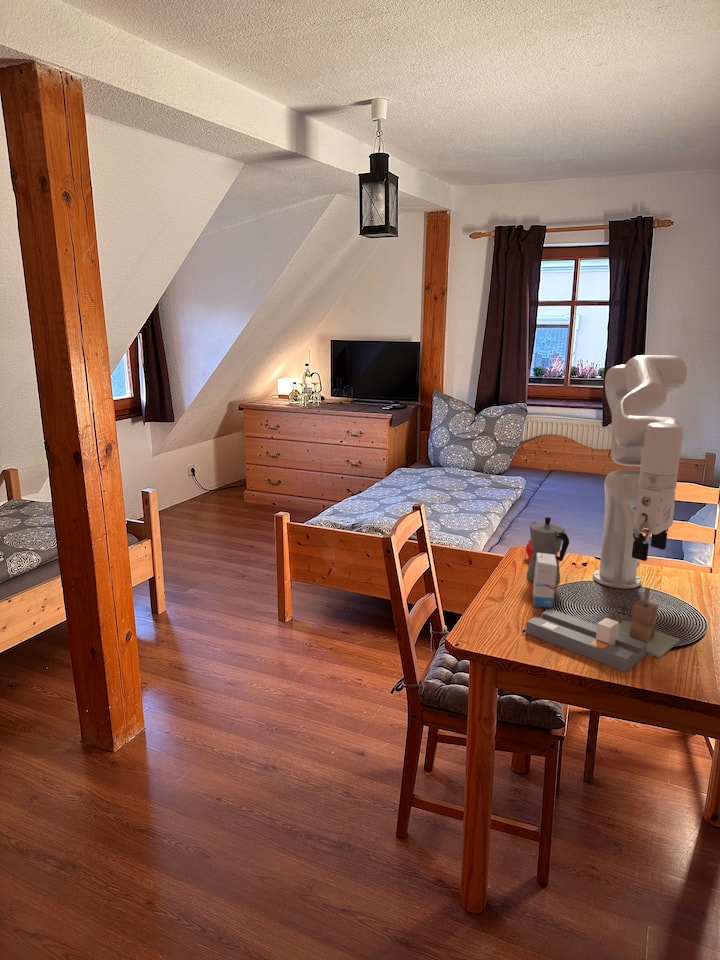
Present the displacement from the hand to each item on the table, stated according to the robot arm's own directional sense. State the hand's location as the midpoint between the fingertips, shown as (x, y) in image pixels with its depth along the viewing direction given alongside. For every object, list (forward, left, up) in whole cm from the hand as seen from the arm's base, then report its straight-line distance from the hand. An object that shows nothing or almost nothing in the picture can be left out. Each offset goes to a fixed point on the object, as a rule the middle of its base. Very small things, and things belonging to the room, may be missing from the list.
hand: (648, 553), depth 151 cm
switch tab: (+12, -2, -18) cm, 22 cm away
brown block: (+1, +1, -20) cm, 20 cm away
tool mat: (+1, +1, -21) cm, 21 cm away
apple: (-27, -43, -21) cm, 55 cm away
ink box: (-2, -26, -21) cm, 34 cm away
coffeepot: (-15, -33, -21) cm, 42 cm away
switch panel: (+12, -7, -21) cm, 25 cm away
